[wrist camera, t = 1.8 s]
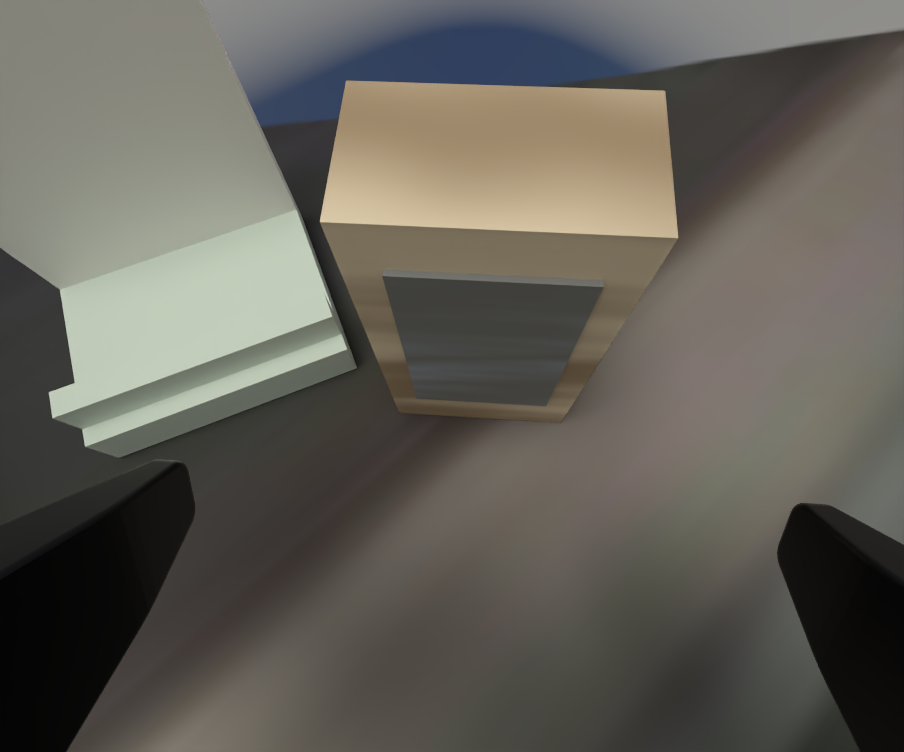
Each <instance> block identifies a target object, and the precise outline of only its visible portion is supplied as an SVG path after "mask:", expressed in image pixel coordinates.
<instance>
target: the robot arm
mask: <svg viewBox="0 0 904 752" xmlns="http://www.w3.org/2000/svg"><path fill="white" fill-rule="evenodd" d="M194 515H195V501H194V497H193V492H192V487H191V482H190V478H189V473H188V469H187V467H186V465H185V464H184V463H183V462H181V461H173V460H153V461H150V462H148V463H146V464H143V465H141V466H139V467H136V468H134V469H132V470H129V471H127V472H125V473H122V474H120V475H118V476H115V477H113V478H111V479H108V480H106V481H104V482H101V483H99V484H97V485H94V486H92V487H90V488H87V489H85V490H83V491H80V492H78V493H76V494H73V495H71V496H69V497H66V498H64V499H62V500H59V501H57V502H55V503H52V504H50V505H48V506H45V507H43V508H41V509H38V510H36V511H34V512H31V513H29V514H26V515H24V516H22V517H19V518H17V519H15V520H12V521H10V522H8V523H5V524H3V525H1V526H0V752H67V750H68V748H69V747H70V745H71V743H72V742H73V740H74V738H75V737H76V735H77V733H78V732H79V730H80V728H81V727H82V725H83V723H84V722H85V720H86V718H87V717H88V715H89V713H90V712H91V710H92V708H93V707H94V705H95V703H96V702H97V700H98V698H99V697H100V695H101V693H102V692H103V690H104V688H105V687H106V685H107V683H108V682H109V680H110V678H111V676H112V675H113V673H114V671H115V670H116V668H117V666H118V665H119V663H120V661H121V660H122V658H123V656H124V655H125V653H126V651H127V650H128V648H129V646H130V645H131V643H132V641H133V640H134V638H135V636H136V635H137V633H138V631H139V630H140V628H141V626H142V624H143V623H144V621H145V619H146V617H147V616H148V614H149V612H150V610H151V608H152V606H153V604H154V602H155V600H156V598H157V596H158V594H159V592H160V590H161V588H162V586H163V584H164V581H165V579H166V577H167V575H168V573H169V571H170V569H171V567H172V564H173V562H174V560H175V558H176V556H177V554H178V552H179V549H180V547H181V545H182V543H183V541H184V539H185V537H186V535H187V532H188V530H189V528H190V526H191V524H192V522H193V519H194ZM777 556H778V562H779V566H780V568H781V571H782V574H783V576H784V579H785V582H786V584H787V587H788V589H789V592H790V595H791V597H792V600H793V603H794V605H795V608H796V611H797V613H798V616H799V618H800V621H801V624H802V626H803V629H804V632H805V634H806V637H807V640H808V642H809V645H810V647H811V650H812V652H813V655H814V657H815V660H816V662H817V664H818V667H819V669H820V671H821V673H822V675H823V678H824V680H825V682H826V684H827V686H828V688H829V690H830V692H831V694H832V696H833V698H834V700H835V702H836V704H837V706H838V708H839V710H840V712H841V714H842V716H843V718H844V720H845V722H846V724H847V726H848V728H849V730H850V732H851V734H852V736H853V738H854V740H855V742H856V745H857V747H858V749H859V751H860V752H904V545H903V544H901V543H899V542H897V541H896V540H894V539H892V538H890V537H888V536H886V535H884V534H883V533H881V532H879V531H877V530H875V529H873V528H871V527H870V526H868V525H866V524H864V523H862V522H860V521H858V520H857V519H855V518H853V517H851V516H849V515H847V514H845V513H844V512H842V511H840V510H838V509H836V508H834V507H832V506H830V505H826V504H811V503H800V504H797V505H796V506H795V507H794V508H793V509H792V511H791V513H790V516H789V518H788V521H787V524H786V526H785V529H784V532H783V534H782V537H781V540H780V542H779V545H778V551H777Z"/></svg>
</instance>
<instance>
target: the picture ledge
mask: <svg viewBox="0 0 904 752" xmlns="http://www.w3.org/2000/svg"><path fill="white" fill-rule="evenodd" d="M0 248H1V249H3V250H4V251H5V252H7V253H8V254H10V255H11V256H13V257H14V258H15V259H17V260H18V261H20V262H21V263H23V264H24V265H26V266H27V267H28V268H30V269H31V270H33V271H34V272H36V273H37V274H38V275H40V276H41V277H43V278H44V279H46V280H47V281H48V282H50V283H51V284H53V285H54V286H56V287H57V288H58V289H60V293H61V299H62V305H63V312H64V318H65V324H66V330H67V337H68V343H69V349H70V355H71V362H72V368H73V374H74V380H75V383H74V384H71V385H68V386H65V387H63V388H60V389H57V390H54V391H51V392H49V397H50V404H51V411H52V418H53V419H56V420H59V421H61V422H64V423H67V424H69V425H72V426H75V427H77V428H80V429H82V430H83V437H84V443H85V447H87V448H90V449H93V450H96V451H99V452H102V453H106V454H109V455H112V456H115V457H118V458H120V457H123V456H125V455H128V454H131V453H133V452H136V451H139V450H141V449H144V448H147V447H149V446H152V445H155V444H157V443H160V442H163V441H165V440H168V439H170V438H173V437H176V436H178V435H181V434H184V433H186V432H189V431H192V430H194V429H197V428H200V427H202V426H205V425H208V424H210V423H213V422H216V421H218V420H221V419H224V418H226V417H229V416H232V415H234V414H237V413H240V412H242V411H245V410H247V409H250V408H253V407H255V406H258V405H261V404H263V403H266V402H269V401H271V400H274V399H277V398H279V397H282V396H285V395H287V394H290V393H293V392H295V391H298V390H301V389H303V388H306V387H309V386H311V385H314V384H316V383H319V382H322V381H324V380H327V379H330V378H332V377H335V376H338V375H340V374H343V373H346V372H348V371H351V370H354V369H356V368H357V366H356V364H355V361H354V358H353V355H352V353H351V350H350V347H349V344H348V342H347V339H346V336H345V333H344V331H343V328H342V325H341V322H340V320H339V317H338V314H337V312H336V309H335V306H334V303H333V301H332V298H331V295H330V292H329V290H328V287H327V284H326V281H325V279H324V276H323V273H322V270H321V268H320V265H319V262H318V259H317V257H316V254H315V251H314V249H313V246H312V243H311V240H310V238H309V235H308V232H307V229H306V227H305V224H304V221H303V218H302V216H301V214H300V212H299V209H298V207H297V205H296V203H295V201H294V199H293V196H292V194H291V192H290V190H289V188H288V186H287V183H286V181H285V179H284V177H283V175H282V173H281V170H280V168H279V166H278V164H277V162H276V160H275V157H274V155H273V153H272V151H271V149H270V147H269V144H268V142H267V140H266V138H265V136H264V133H263V131H262V129H261V127H260V125H259V123H258V121H257V118H256V116H255V114H254V112H253V110H252V107H251V105H250V103H249V101H248V99H247V97H246V95H245V92H244V90H243V88H242V86H241V84H240V82H239V79H238V77H237V75H236V73H235V71H234V68H233V66H232V64H231V62H230V60H229V58H228V55H227V53H226V51H225V49H224V47H223V44H222V42H221V40H220V38H219V36H218V34H217V31H216V29H215V27H214V25H213V23H212V21H211V18H210V16H209V14H208V12H207V10H206V8H205V6H204V3H203V1H202V0H0Z"/></svg>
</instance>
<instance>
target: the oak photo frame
mask: <svg viewBox="0 0 904 752" xmlns="http://www.w3.org/2000/svg"><path fill="white" fill-rule="evenodd" d="M320 224H321V226H322V229H323V231H324V233H325V236H326V238H327V241H328V243H329V245H330V248H331V250H332V253H333V255H334V257H335V260H336V262H337V265H338V267H339V269H340V272H341V274H342V277H343V279H344V281H345V284H346V286H347V289H348V291H349V293H350V296H351V298H352V301H353V303H354V305H355V308H356V310H357V313H358V315H359V317H360V320H361V322H362V325H363V327H364V329H365V332H366V334H367V337H368V339H369V341H370V344H371V346H372V349H373V351H374V353H375V356H376V358H377V361H378V363H379V365H380V368H381V370H382V373H383V375H384V377H385V380H386V382H387V385H388V387H389V389H390V392H391V394H392V397H393V399H394V401H395V404H396V406H397V409H398V411H399V413H410V414H426V415H443V416H459V417H475V418H491V419H507V420H524V421H540V422H556V423H561V422H562V420H563V419H564V417H565V416H566V414H567V412H568V411H569V409H570V408H571V406H572V405H573V403H574V401H575V400H576V398H577V397H578V395H579V394H580V392H581V390H582V389H583V387H584V386H585V384H586V383H587V381H588V379H589V378H590V376H591V375H592V373H593V372H594V370H595V368H596V367H597V365H598V364H599V362H600V361H601V359H602V357H603V356H604V354H605V353H606V351H607V349H608V348H609V346H610V345H611V343H612V342H613V340H614V338H615V337H616V335H617V334H618V332H619V331H620V329H621V327H622V326H623V324H624V323H625V321H626V320H627V318H628V316H629V315H630V313H631V312H632V310H633V309H634V307H635V305H636V304H637V302H638V301H639V299H640V298H641V296H642V294H643V293H644V291H645V290H646V288H647V286H648V285H649V283H650V282H651V280H652V279H653V277H654V275H655V274H656V272H657V271H658V269H659V268H660V266H661V264H662V263H663V261H664V260H665V258H666V257H667V255H668V253H669V252H670V250H671V249H672V247H673V246H674V244H675V242H676V241H677V239H678V230H677V219H676V208H675V197H674V186H673V174H672V163H671V152H670V141H669V129H668V118H667V107H666V96H665V91H653V90H622V89H590V88H559V87H527V86H496V85H495V86H493V85H465V84H463V85H462V84H434V83H433V84H432V83H402V82H371V81H369V82H368V81H346V85H345V90H344V95H343V100H342V106H341V111H340V116H339V122H338V127H337V132H336V138H335V143H334V149H333V154H332V159H331V165H330V170H329V175H328V181H327V186H326V191H325V197H324V202H323V207H322V213H321V218H320Z"/></svg>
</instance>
